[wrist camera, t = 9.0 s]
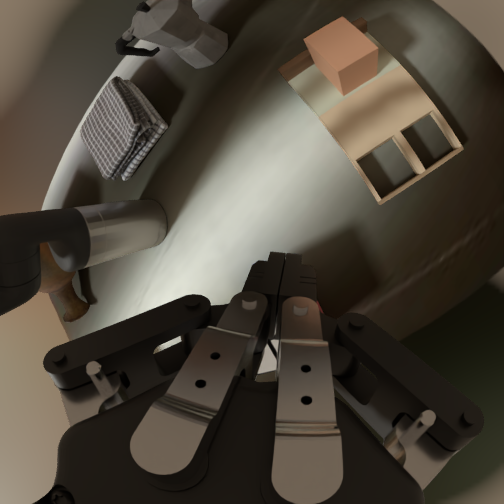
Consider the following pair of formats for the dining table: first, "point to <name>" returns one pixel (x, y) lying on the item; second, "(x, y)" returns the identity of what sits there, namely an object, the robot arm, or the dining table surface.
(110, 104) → the towel
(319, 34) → the block
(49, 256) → the jug
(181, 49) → the coffeepot
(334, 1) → the dining table surface
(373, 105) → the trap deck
